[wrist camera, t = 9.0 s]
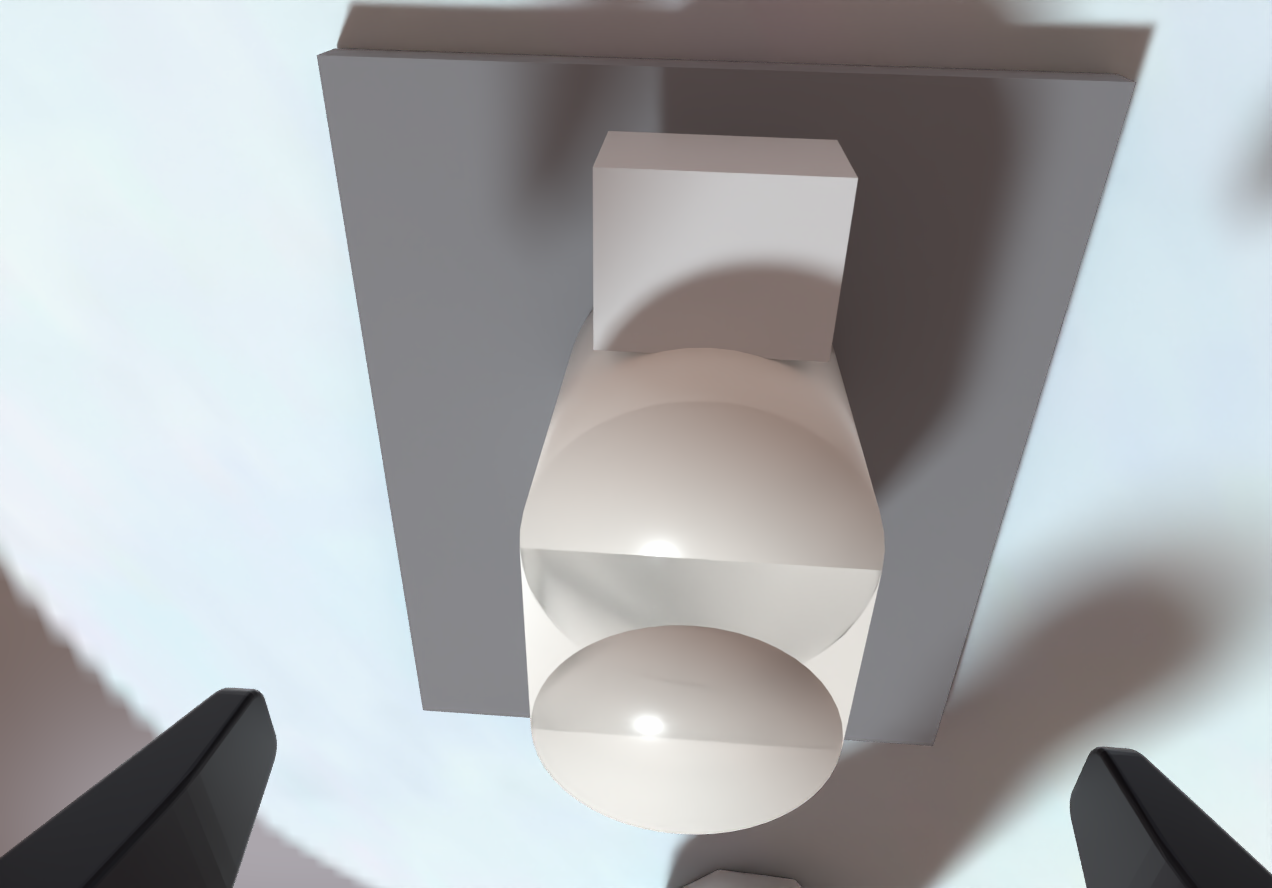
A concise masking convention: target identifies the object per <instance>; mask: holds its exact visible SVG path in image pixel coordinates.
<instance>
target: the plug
mask: <svg viewBox="0 0 1272 888" xmlns="http://www.w3.org/2000/svg"><path fill="white" fill-rule="evenodd" d="M857 182H858V177H857V175H856V173H855V171H854V170H853V168H852V166H851V164H850V162H849V161H848V159H847V157H846V155H845V153H844V151H843V150H842V148H841V146H840V144H839V142H838V140H825V139H800V138H775V137H749V136H724V135H698V134H673V133H647V132H622V131H608V133H607V135H606V138H605V140H604V142H603V145H602V147H601V149H600V152H599V154H598V156H597V159H596V161H595V163H594V165H593V310H592V312H591V313H590V315H589V316H588V317H587V319H586V320H585V322H584V324H583V326H582V327H581V329H580V331H579V333H578V335H577V338H576V341H575V343H574V346H573V349H572V352H571V355H570V359H569V362H568V365H567V369H566V372H565V375H564V379H563V382H562V385H561V389H560V392H559V395H558V399H557V402H556V405H555V408H554V412H553V415H552V418H551V422H550V425H549V428H548V432H547V435H546V438H545V442H544V445H543V448H542V452H541V455H540V458H539V461H538V465H537V468H536V471H535V475H534V478H533V481H532V485H531V488H530V491H529V495H528V498H527V501H526V504H525V508H524V511H523V517H522V522H521V527H520V561H521V577H522V593H523V609H524V625H525V641H526V657H527V673H528V689H529V705H530V721H531V732H532V738H533V743H534V746H535V749H536V752H537V755H538V757H539V758H540V760H541V762H542V764H543V766H544V767H545V769H546V770H547V771H548V773H549V774H550V775H551V777H552V778H553V779H554V780H555V781H556V782H557V783H558V784H559V785H560V786H561V787H562V788H563V789H564V790H565V791H566V792H567V793H569V794H570V795H571V796H572V797H574V798H575V799H576V800H578V801H579V802H581V803H582V804H584V805H586V806H587V807H589V808H591V809H592V810H594V811H596V812H598V813H600V814H602V815H604V816H607V817H609V818H612V819H614V820H617V821H619V822H622V823H625V824H628V825H632V826H635V827H639V828H643V829H648V830H653V831H658V832H666V833H674V834H695V835H697V834H716V833H724V832H732V831H737V830H742V829H747V828H751V827H754V826H757V825H761V824H764V823H767V822H769V821H772V820H774V819H777V818H779V817H781V816H783V815H785V814H787V813H789V812H791V811H792V810H794V809H796V808H798V807H799V806H800V805H802V804H803V803H805V802H806V801H807V800H809V799H810V798H811V797H812V796H813V795H814V794H815V793H817V792H818V791H819V790H820V789H821V788H822V786H823V785H824V784H825V783H826V781H827V780H828V779H829V777H830V776H831V774H832V772H833V771H834V769H835V767H836V765H837V763H838V760H839V757H840V753H841V750H842V746H843V741H844V737H845V732H846V728H847V724H848V719H849V715H850V710H851V706H852V702H853V697H854V693H855V688H856V684H857V679H858V675H859V671H860V666H861V662H862V657H863V653H864V648H865V644H866V640H867V635H868V631H869V626H870V622H871V618H872V613H873V609H874V604H875V600H876V595H877V591H878V587H879V582H880V578H881V573H882V568H883V561H884V553H885V544H884V530H883V525H882V520H881V515H880V511H879V508H878V504H877V500H876V497H875V493H874V490H873V486H872V483H871V479H870V476H869V472H868V469H867V465H866V462H865V458H864V454H863V451H862V447H861V444H860V440H859V437H858V433H857V430H856V426H855V423H854V419H853V416H852V412H851V409H850V405H849V401H848V398H847V394H846V391H845V387H844V384H843V380H842V377H841V373H840V370H839V366H838V363H837V359H836V355H835V352H834V348H833V345H832V341H833V334H834V328H835V322H836V315H837V309H838V303H839V296H840V290H841V283H842V277H843V271H844V264H845V258H846V252H847V245H848V239H849V233H850V226H851V220H852V214H853V207H854V201H855V195H856V188H857Z"/></svg>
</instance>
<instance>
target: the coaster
mask: <svg viewBox="0 0 1272 888" xmlns="http://www.w3.org/2000/svg"><path fill="white" fill-rule="evenodd" d="M317 59H318V65H319V71H320V77H321V84H322V90H323V96H324V102H325V108H326V114H327V121H328V127H329V133H330V139H331V145H332V151H333V158H334V164H335V170H336V176H337V182H338V188H339V194H340V201H341V207H342V213H343V219H344V225H345V231H346V238H347V244H348V250H349V256H350V262H351V268H352V275H353V281H354V287H355V293H356V299H357V305H358V312H359V318H360V324H361V330H362V336H363V342H364V349H365V355H366V361H367V367H368V373H369V379H370V386H371V392H372V398H373V404H374V410H375V416H376V423H377V429H378V435H379V441H380V447H381V453H382V460H383V466H384V472H385V478H386V484H387V490H388V497H389V503H390V509H391V515H392V521H393V527H394V533H395V540H396V546H397V552H398V558H399V564H400V570H401V577H402V583H403V589H404V595H405V601H406V607H407V614H408V620H409V626H410V632H411V638H412V644H413V651H414V657H415V663H416V669H417V675H418V681H419V688H420V694H421V700H422V706H423V710H427V711H441V712H456V713H470V714H484V715H499V716H513V717H527V718H530V705H529V689H528V673H527V657H526V641H525V625H524V609H523V593H522V577H521V561H520V527H521V522H522V517H523V511H524V508H525V504H526V501H527V498H528V495H529V491H530V488H531V485H532V481H533V478H534V475H535V471H536V468H537V465H538V461H539V458H540V455H541V452H542V448H543V445H544V442H545V438H546V435H547V432H548V428H549V425H550V422H551V418H552V415H553V412H554V408H555V405H556V402H557V399H558V395H559V392H560V389H561V385H562V382H563V379H564V375H565V372H566V369H567V365H568V362H569V359H570V355H571V352H572V349H573V346H574V343H575V341H576V338H577V335H578V333H579V331H580V329H581V327H582V326H583V324H584V322H585V320H586V319H587V317H588V316H589V315H590V313H591V312H592V310H593V165H594V163H595V161H596V159H597V156H598V154H599V152H600V149H601V147H602V145H603V142H604V140H605V138H606V135H607V133H608V131H622V132H647V133H673V134H698V135H724V136H749V137H775V138H800V139H825V140H838V142H839V144H840V146H841V148H842V150H843V151H844V153H845V155H846V157H847V159H848V161H849V162H850V164H851V166H852V168H853V170H854V171H855V173H856V175H857V177H858V182H857V188H856V195H855V201H854V207H853V214H852V220H851V226H850V233H849V239H848V245H847V252H846V258H845V264H844V271H843V277H842V283H841V290H840V296H839V303H838V309H837V315H836V322H835V328H834V334H833V341H832V345H833V348H834V352H835V355H836V359H837V363H838V366H839V370H840V373H841V377H842V380H843V384H844V387H845V391H846V394H847V398H848V401H849V405H850V409H851V412H852V416H853V419H854V423H855V426H856V430H857V433H858V437H859V440H860V444H861V447H862V451H863V454H864V458H865V462H866V465H867V469H868V472H869V476H870V479H871V483H872V486H873V490H874V493H875V497H876V500H877V504H878V508H879V511H880V515H881V520H882V525H883V530H884V544H885V553H884V561H883V568H882V573H881V578H880V582H879V587H878V591H877V595H876V600H875V604H874V609H873V613H872V618H871V622H870V626H869V631H868V635H867V640H866V644H865V648H864V653H863V657H862V662H861V666H860V671H859V675H858V679H857V684H856V688H855V693H854V697H853V702H852V706H851V710H850V715H849V719H848V724H847V728H846V732H845V737H844V740H857V741H871V742H885V743H900V744H914V745H928V746H933V744H934V741H935V737H936V734H937V731H938V728H939V724H940V721H941V718H942V715H943V711H944V708H945V705H946V701H947V698H948V695H949V692H950V688H951V685H952V682H953V679H954V675H955V672H956V669H957V666H958V662H959V659H960V656H961V652H962V649H963V646H964V643H965V639H966V636H967V633H968V630H969V626H970V623H971V620H972V617H973V613H974V610H975V607H976V603H977V600H978V597H979V594H980V590H981V587H982V584H983V581H984V577H985V574H986V571H987V567H988V564H989V561H990V558H991V554H992V551H993V548H994V545H995V541H996V538H997V535H998V532H999V528H1000V525H1001V522H1002V518H1003V515H1004V512H1005V509H1006V505H1007V502H1008V499H1009V496H1010V492H1011V489H1012V486H1013V482H1014V479H1015V476H1016V473H1017V469H1018V466H1019V463H1020V460H1021V456H1022V453H1023V450H1024V447H1025V443H1026V440H1027V437H1028V433H1029V430H1030V427H1031V424H1032V420H1033V417H1034V414H1035V411H1036V407H1037V404H1038V401H1039V398H1040V394H1041V391H1042V388H1043V384H1044V381H1045V378H1046V375H1047V371H1048V368H1049V365H1050V362H1051V358H1052V355H1053V352H1054V348H1055V345H1056V342H1057V339H1058V335H1059V332H1060V329H1061V326H1062V322H1063V319H1064V316H1065V313H1066V309H1067V306H1068V303H1069V299H1070V296H1071V293H1072V290H1073V286H1074V283H1075V280H1076V277H1077V273H1078V270H1079V267H1080V264H1081V260H1082V257H1083V254H1084V250H1085V247H1086V244H1087V241H1088V237H1089V234H1090V231H1091V228H1092V224H1093V221H1094V218H1095V214H1096V211H1097V208H1098V205H1099V201H1100V198H1101V195H1102V192H1103V188H1104V185H1105V182H1106V179H1107V175H1108V172H1109V169H1110V165H1111V162H1112V159H1113V156H1114V152H1115V149H1116V146H1117V143H1118V139H1119V136H1120V133H1121V129H1122V126H1123V123H1124V120H1125V116H1126V113H1127V110H1128V107H1129V103H1130V100H1131V97H1132V94H1133V90H1134V87H1135V84H1136V82H1134V81H1132V80H1129V79H1127V78H1124V77H1122V76H1120V75H1117V74H1104V73H1073V72H1042V71H1011V70H980V69H949V68H918V67H888V66H857V65H826V64H795V63H764V62H733V61H702V60H671V59H641V58H610V57H579V56H548V55H517V54H486V53H455V52H424V51H393V50H363V49H332V50H330V51H327V52H324V53H322V54H319V55H317Z"/></svg>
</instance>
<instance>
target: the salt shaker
mask: <svg viewBox="0 0 1272 888" xmlns="http://www.w3.org/2000/svg"><path fill="white" fill-rule="evenodd" d="M682 888H802V887H801V886H800V885H799V884H798V882H797V881H796V880H795V879H788V878H780V877H772V876H765V875H757V874H750V873H742V872H734V871H727V870H716V871H714V872H712V873H710V874H708V875H706V876H704V877H702V878H700V879H698V880H696V881H694V882H692V883H690V884H688V885H686V886H684V887H682Z"/></svg>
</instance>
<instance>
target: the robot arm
mask: <svg viewBox="0 0 1272 888" xmlns="http://www.w3.org/2000/svg"><path fill="white" fill-rule="evenodd" d="M276 750H277V740H276V735H275V731H274V728H273V725H272V721H271V718H270V715H269V711H268V708H267V705H266V702H265V699H264V696H263V694H262V693H261V692H259V691H258V690H255V689H243V688H224V689H221V690H219V691H217V692H215V693H214V694H213V695H211V696H210V697H209V698H207V699H206V700H205V701H203V702H202V703H201V704H200V705H198V706H197V707H196V708H194V709H193V710H192V711H190V712H189V713H188V714H187V715H185V716H184V717H183V718H181V719H180V720H179V721H177V722H176V723H175V724H174V725H172V726H171V727H170V728H168V729H167V730H166V731H164V732H163V733H162V734H160V735H159V736H158V737H157V738H155V739H154V740H153V741H151V742H150V743H149V744H148V745H146V746H145V747H144V748H142V749H141V750H140V751H138V752H137V753H136V754H135V755H133V756H132V757H131V758H129V759H128V760H127V761H126V762H124V763H123V764H121V765H120V766H119V767H118V768H116V769H115V770H114V771H112V772H111V773H110V774H108V775H107V776H106V777H104V778H103V779H102V780H101V781H99V782H98V783H97V784H95V785H94V786H93V787H92V788H90V789H89V790H88V791H86V792H85V793H84V794H82V795H81V796H80V797H78V798H77V799H76V800H75V801H73V802H72V803H71V804H69V805H68V806H67V807H65V808H64V809H63V810H62V811H60V812H59V813H58V814H56V815H55V816H54V817H52V818H51V819H50V820H49V821H47V822H46V823H45V824H43V825H42V826H41V827H39V828H38V829H37V830H35V831H34V832H33V833H32V834H30V835H29V836H28V837H26V838H25V839H24V840H23V841H21V842H20V843H19V844H17V845H16V846H15V847H13V848H12V849H11V850H9V851H8V852H7V853H6V854H4V855H3V856H2V857H0V888H233V886H234V883H235V880H236V877H237V874H238V871H239V868H240V865H241V862H242V859H243V856H244V853H245V849H246V847H247V844H248V841H249V837H250V834H251V831H252V828H253V825H254V822H255V819H256V816H257V813H258V810H259V807H260V804H261V800H262V797H263V794H264V791H265V788H266V785H267V782H268V779H269V776H270V773H271V770H272V767H273V763H274V760H275V756H276ZM1070 815H1071V821H1072V825H1073V829H1074V834H1075V838H1076V843H1077V847H1078V851H1079V856H1080V860H1081V865H1082V869H1083V874H1084V878H1085V882H1086V887H1087V888H1272V874H1271V873H1270V872H1269V871H1268V870H1267V869H1266V868H1265V867H1264V866H1262V865H1261V864H1260V863H1259V862H1258V861H1257V860H1256V859H1255V858H1254V857H1253V856H1252V855H1251V854H1249V853H1248V852H1247V851H1246V850H1245V849H1244V848H1243V847H1242V846H1241V845H1240V844H1239V843H1238V842H1237V841H1235V840H1234V839H1233V838H1232V837H1231V836H1230V835H1229V834H1228V833H1227V832H1226V831H1225V830H1224V829H1222V828H1221V827H1220V826H1219V825H1218V824H1217V823H1216V822H1215V821H1214V820H1213V819H1212V818H1211V817H1209V816H1208V815H1207V814H1206V813H1205V812H1204V811H1203V810H1202V809H1201V808H1200V807H1199V806H1198V805H1197V804H1195V803H1194V802H1193V801H1192V800H1191V799H1190V798H1189V797H1188V796H1187V795H1186V794H1185V793H1184V792H1182V791H1181V790H1180V789H1179V788H1178V787H1177V786H1176V785H1175V784H1174V783H1173V782H1172V781H1171V780H1169V779H1168V778H1167V777H1166V776H1165V775H1164V774H1163V773H1162V772H1161V771H1160V770H1159V769H1158V768H1156V767H1155V766H1154V765H1153V764H1152V763H1151V762H1150V761H1149V760H1148V759H1147V758H1146V757H1144V756H1143V755H1142V754H1140V753H1139V752H1137V751H1135V750H1132V749H1127V748H1113V747H1097V748H1095V749H1094V750H1092V751H1091V752H1090V754H1089V756H1088V758H1087V760H1086V762H1085V765H1084V767H1083V769H1082V771H1081V773H1080V776H1079V778H1078V780H1077V782H1076V784H1075V787H1074V789H1073V791H1072V794H1071V798H1070Z"/></svg>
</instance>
